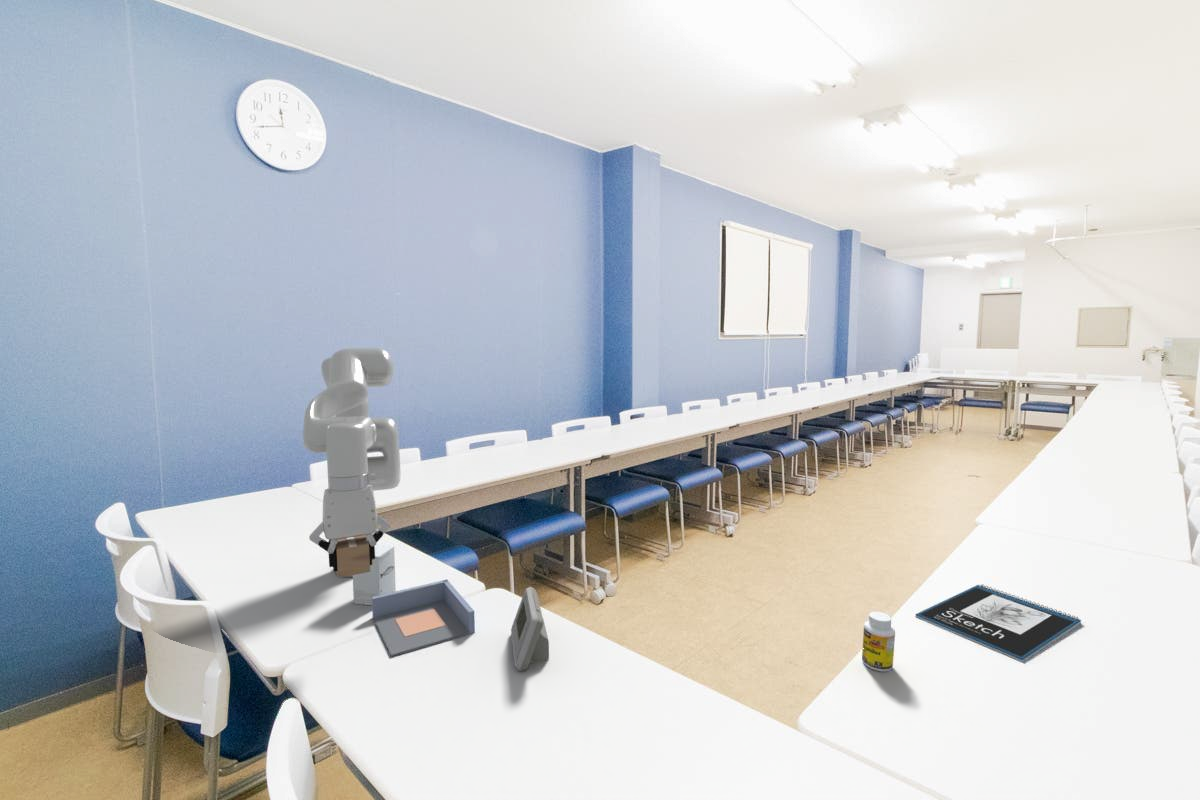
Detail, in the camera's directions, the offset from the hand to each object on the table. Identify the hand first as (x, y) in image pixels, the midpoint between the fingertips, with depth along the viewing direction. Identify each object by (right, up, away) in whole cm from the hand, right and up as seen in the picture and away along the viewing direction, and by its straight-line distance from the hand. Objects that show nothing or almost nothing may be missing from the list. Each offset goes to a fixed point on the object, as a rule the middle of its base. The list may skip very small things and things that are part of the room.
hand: (352, 565), depth 116 cm
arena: (+11, -17, +9) cm, 22 cm away
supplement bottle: (+107, -19, -5) cm, 109 cm away
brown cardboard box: (0, -1, 0) cm, 1 cm away
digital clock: (+37, -18, 0) cm, 41 cm away
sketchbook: (+144, -17, +13) cm, 146 cm away
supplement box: (-4, -15, +23) cm, 28 cm away
